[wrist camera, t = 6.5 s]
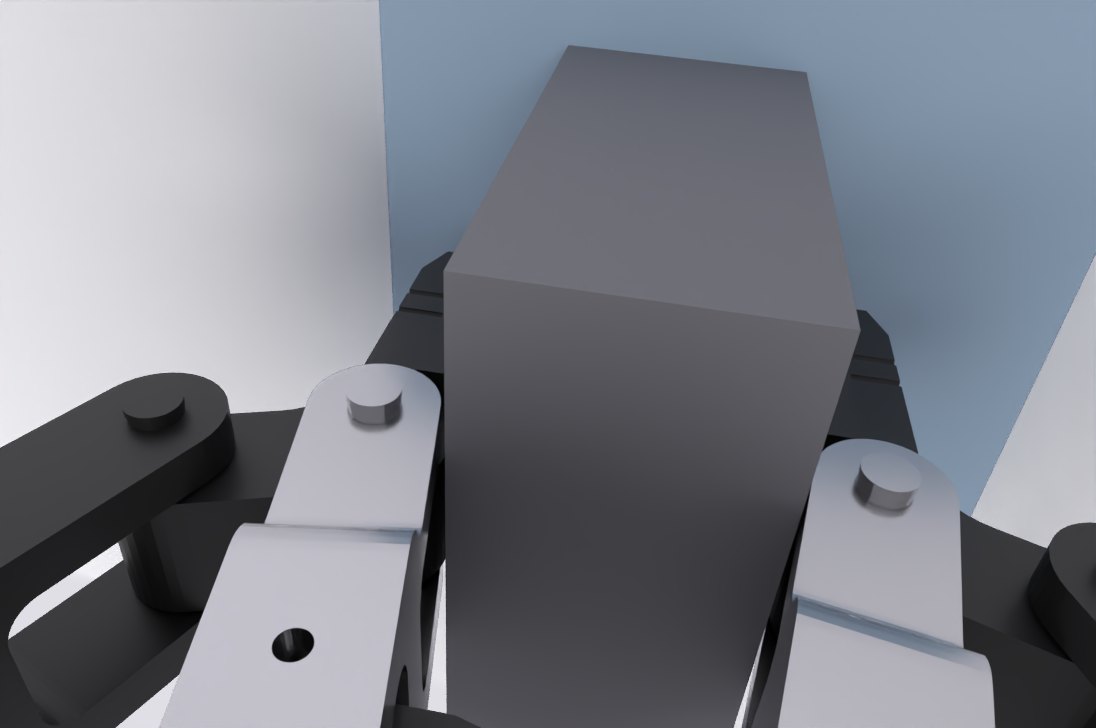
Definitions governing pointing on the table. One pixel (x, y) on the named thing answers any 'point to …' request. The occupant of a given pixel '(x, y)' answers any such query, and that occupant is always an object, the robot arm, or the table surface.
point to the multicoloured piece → (710, 300)
